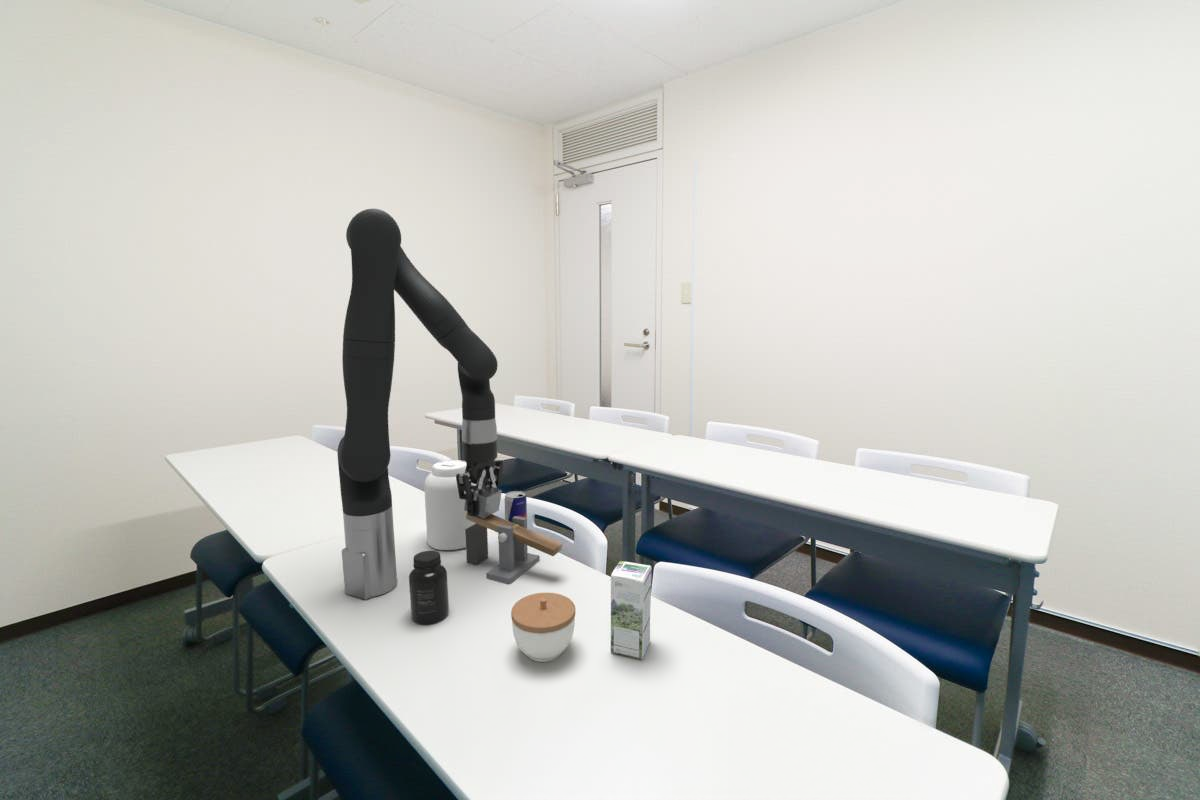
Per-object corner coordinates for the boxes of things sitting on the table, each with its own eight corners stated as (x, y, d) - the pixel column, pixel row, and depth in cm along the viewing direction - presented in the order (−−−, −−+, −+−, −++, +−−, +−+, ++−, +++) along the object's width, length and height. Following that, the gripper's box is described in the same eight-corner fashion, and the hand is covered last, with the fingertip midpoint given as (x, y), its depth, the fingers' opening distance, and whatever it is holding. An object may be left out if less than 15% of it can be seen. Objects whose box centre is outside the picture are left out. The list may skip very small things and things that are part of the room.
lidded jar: (567, 675, 86) (566, 621, 84) (503, 667, 88) (501, 614, 86) (581, 635, 96) (581, 586, 94) (523, 628, 98) (522, 580, 96)
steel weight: (483, 518, 118) (486, 497, 117) (463, 510, 120) (466, 489, 119) (498, 510, 123) (501, 490, 122) (479, 502, 125) (482, 482, 124)
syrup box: (650, 641, 94) (652, 563, 92) (642, 661, 89) (643, 579, 86) (619, 634, 96) (620, 558, 94) (609, 654, 91) (609, 574, 88)
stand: (509, 584, 114) (508, 535, 112) (455, 570, 120) (452, 523, 118) (539, 560, 124) (538, 515, 122) (488, 548, 130) (486, 505, 129)
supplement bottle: (456, 610, 104) (454, 551, 102) (431, 629, 98) (428, 567, 96) (429, 602, 107) (425, 545, 105) (403, 619, 101) (399, 559, 99)
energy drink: (525, 544, 132) (524, 498, 130) (503, 544, 133) (502, 498, 131) (528, 535, 138) (527, 490, 136) (507, 535, 138) (506, 490, 136)
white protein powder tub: (417, 541, 134) (412, 464, 131) (459, 526, 143) (456, 453, 140) (446, 556, 126) (442, 474, 123) (489, 539, 135) (486, 462, 132)
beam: (553, 556, 113) (554, 549, 113) (465, 518, 122) (466, 512, 121) (561, 549, 116) (562, 543, 116) (475, 513, 125) (476, 507, 124)
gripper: (485, 429, 127) (487, 498, 129) (443, 443, 114) (446, 519, 117) (512, 433, 123) (513, 503, 126) (472, 447, 111) (474, 525, 113)
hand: (481, 510), depth 121 cm, fingers closed on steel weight, 5 cm apart
